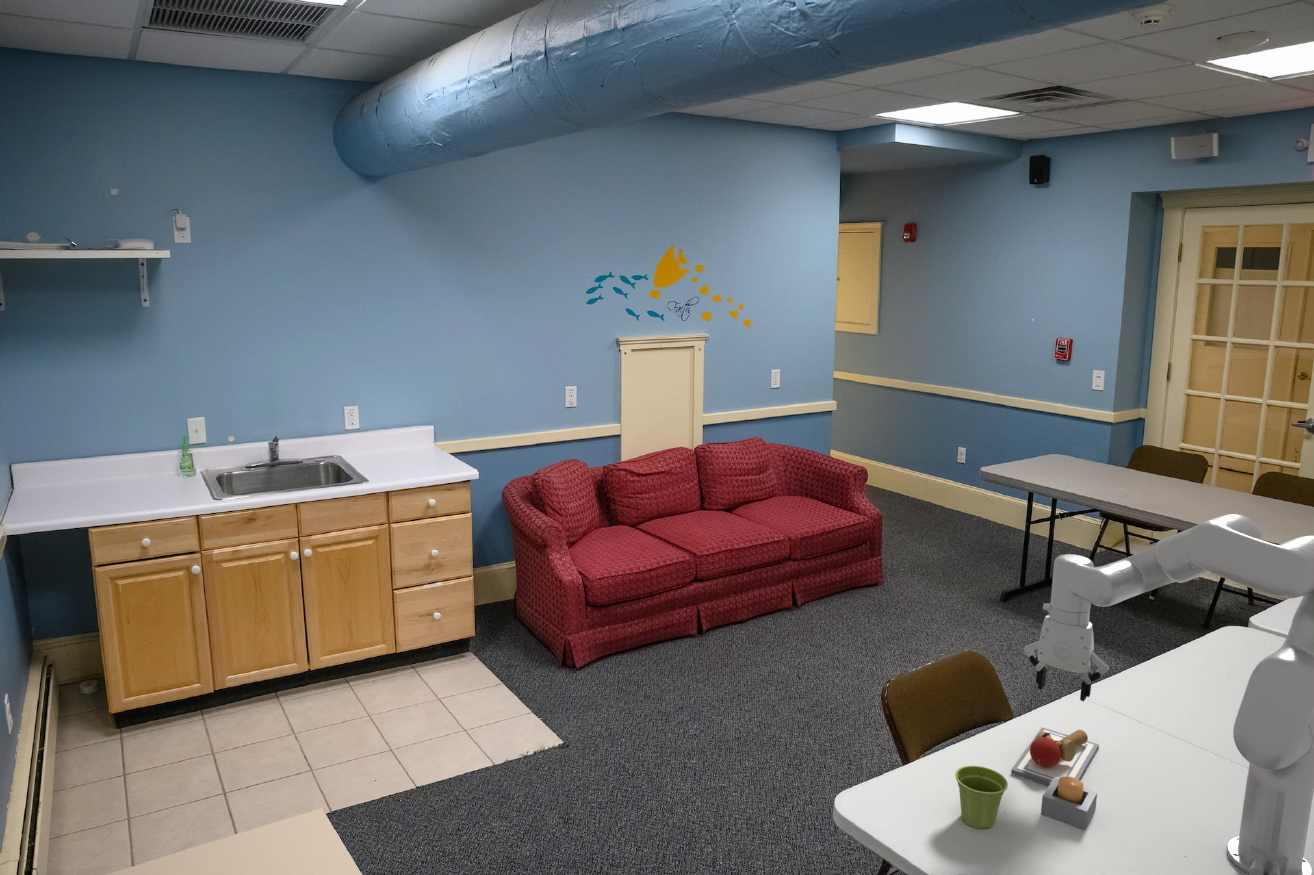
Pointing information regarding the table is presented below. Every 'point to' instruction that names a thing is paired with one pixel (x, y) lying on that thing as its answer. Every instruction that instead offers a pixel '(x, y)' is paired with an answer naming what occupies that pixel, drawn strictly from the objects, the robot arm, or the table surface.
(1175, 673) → the table surface
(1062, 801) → the button housing
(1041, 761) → the kendama
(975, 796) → the plant pot
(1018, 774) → the picture frame
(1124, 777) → the table surface
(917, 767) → the table surface
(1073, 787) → the button
